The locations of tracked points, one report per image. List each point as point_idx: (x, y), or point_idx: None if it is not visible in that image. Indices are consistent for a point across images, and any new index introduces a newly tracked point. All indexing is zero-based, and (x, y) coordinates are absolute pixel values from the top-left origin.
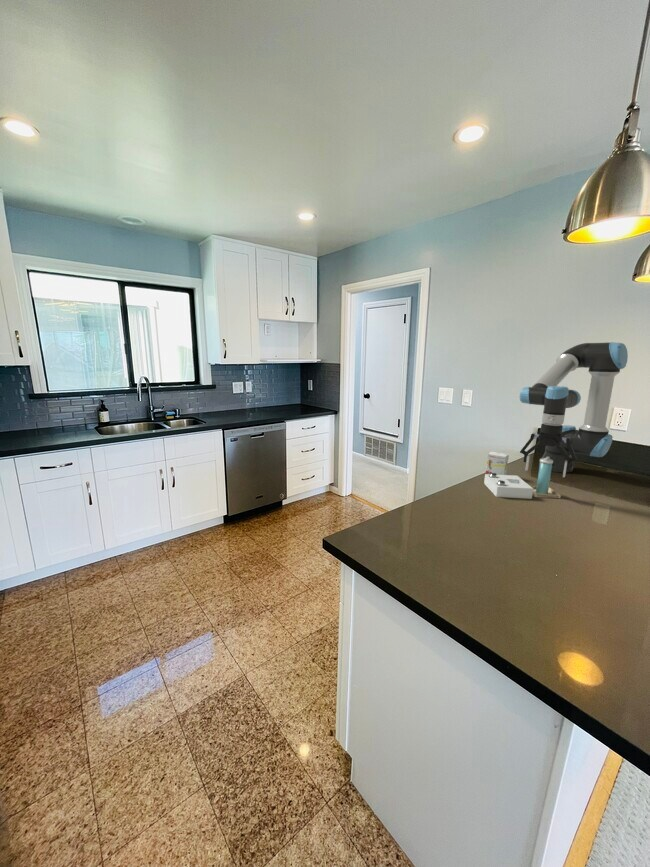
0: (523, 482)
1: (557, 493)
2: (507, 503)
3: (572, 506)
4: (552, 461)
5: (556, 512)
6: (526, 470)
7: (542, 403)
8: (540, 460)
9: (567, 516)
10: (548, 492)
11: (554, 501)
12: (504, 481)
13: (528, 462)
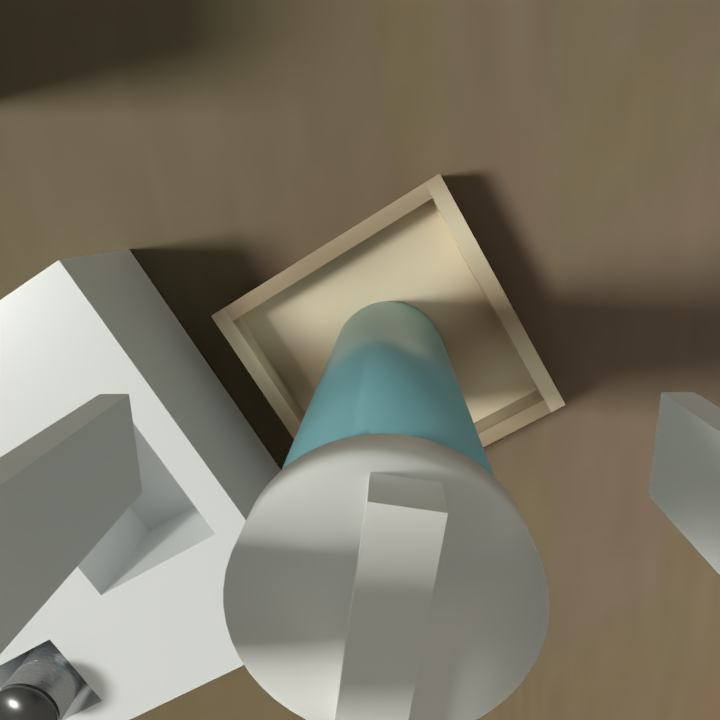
0: (196, 491)
1: (536, 357)
2: (202, 717)
3: (648, 496)
4: (529, 660)
5: (527, 688)
6: (133, 493)
7: None
8: (259, 656)
9: (598, 715)
10: (446, 287)
11: (507, 467)
12: (44, 705)
13: (60, 540)
